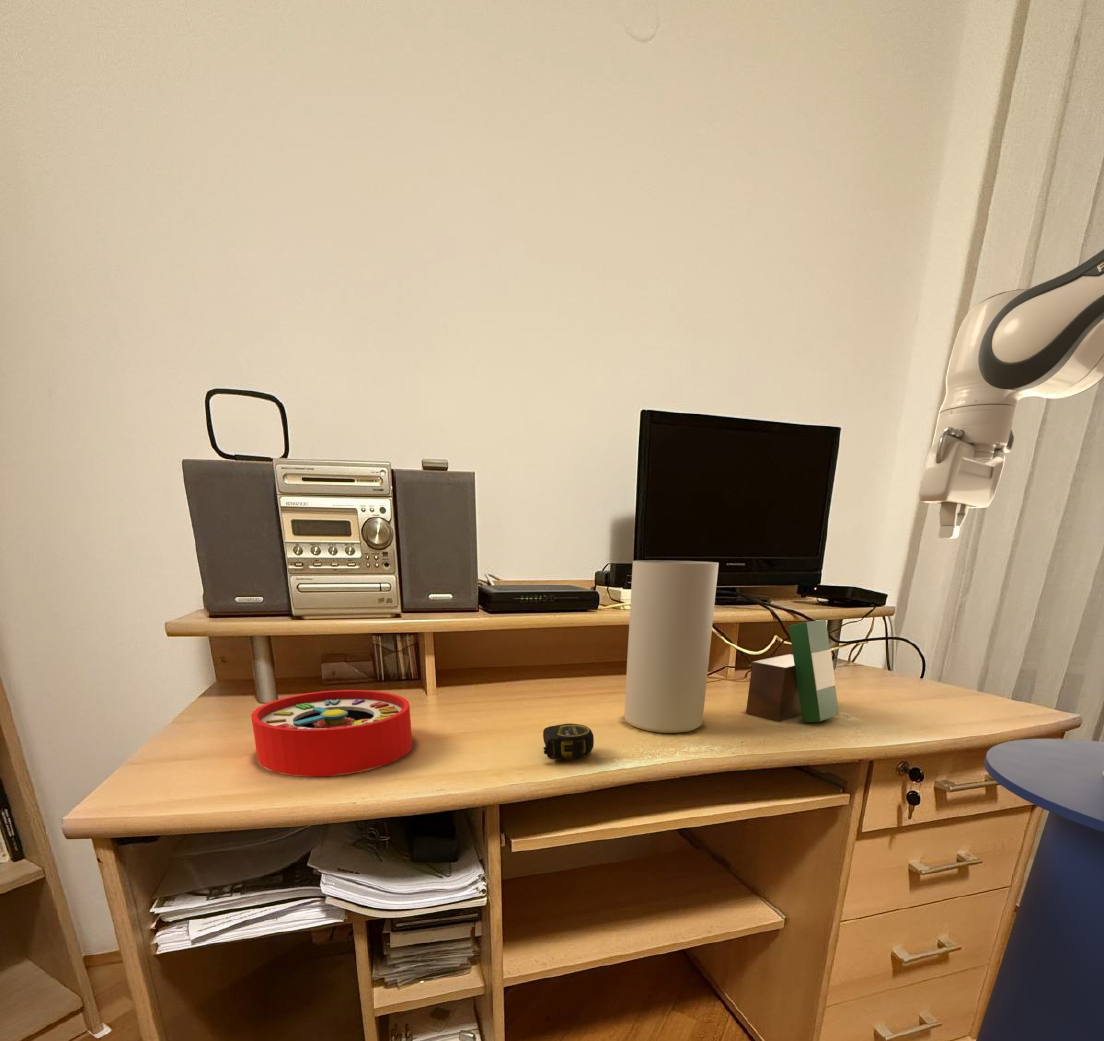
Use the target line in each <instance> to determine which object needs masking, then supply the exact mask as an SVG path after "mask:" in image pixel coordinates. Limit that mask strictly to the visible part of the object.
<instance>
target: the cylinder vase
mask: <svg viewBox="0 0 1104 1041" xmlns="http://www.w3.org/2000/svg"><path fill="white" fill-rule="evenodd" d="M719 564H720V563H719V562H715V561H697V560H695V561H694V560H655V559H653V560H632V569H631V586H630V587H631V588H630V589H631V590H630V605H629V606H630V607H629V624H628V640H627V660H626V676H625V677H626V678H625V692H624V694H625V695H624V709H623V710H624V711H623V713H624V714H623V717H624V719H625V721H626V722H627V724H628V725H630V726H632V727H634V728H636V729H640V730H642V731H647V732H652V733H653V732H654V733H662V734H680V733H681V734H682V733H687V732H691V731H694V730H697V729H698V728H700V726H701V725H702V724H703V721H704V713H705V701H706V693H707V683H708V672H709V664H710V652H711V642H712V634H713V633H712V632H713V623H714V615H715V612H714V611H715V602H716V596H717V595H716V594H717V585H718V584H717V583H718V574H719Z"/></svg>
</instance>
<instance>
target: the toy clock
mask: <svg viewBox="0 0 1104 1041" xmlns="http://www.w3.org/2000/svg"><path fill="white" fill-rule="evenodd" d="M410 707H411V706H410V702H409V700H407V698H405V697H403V696H401V695H399V694H398V695H397V694H395V693H391V692H385V691H377V690H367V689H338V690H323V691H315V692H308V693H307V692H306V693H301V694H296V695H291V696H287V697H282V698H279V699H276V700H272V701H270V702H267V703H264V704H262V705H260V706H259V707H256V709H254V710H253V711H252V713H251V714H250V716H251V717H250V718H251V723H252V724H251V725H252V731H253V737H254V744H255V750H256V757H257V762H258V764H259V765H260V767H262V768H265V770H267V771H269V772H273V773H275V774H282V775H285V776H295V777H312V778H313V777H332V776H343V775H348V774H349V775H351V774H354V773H361V772H365V771H370V770H374V769H377V768H380V767H384V766H386V765H390V764H392V763H394V762H396V761H398V760H399V759H401V758H403V757H404V756H406V755H407V754H408V753H410V751H411V750H412V747H413V736H412V725H411V724H412V720H411V708H410Z"/></svg>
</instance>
